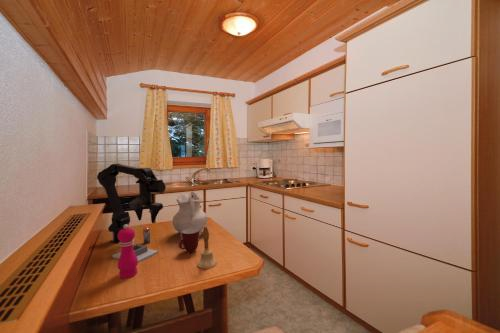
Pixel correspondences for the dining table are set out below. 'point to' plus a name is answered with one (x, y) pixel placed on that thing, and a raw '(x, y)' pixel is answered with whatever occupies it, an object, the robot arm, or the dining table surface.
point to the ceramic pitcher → (189, 213)
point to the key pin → (146, 235)
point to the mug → (189, 239)
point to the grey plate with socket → (139, 252)
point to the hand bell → (206, 253)
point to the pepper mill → (127, 253)
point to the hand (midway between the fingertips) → (146, 221)
